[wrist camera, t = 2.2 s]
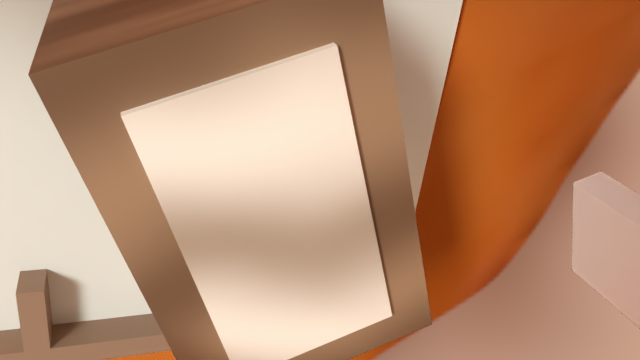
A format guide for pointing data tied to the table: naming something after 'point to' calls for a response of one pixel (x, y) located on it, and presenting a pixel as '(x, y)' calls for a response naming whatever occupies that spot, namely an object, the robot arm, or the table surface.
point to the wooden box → (244, 168)
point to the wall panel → (85, 219)
